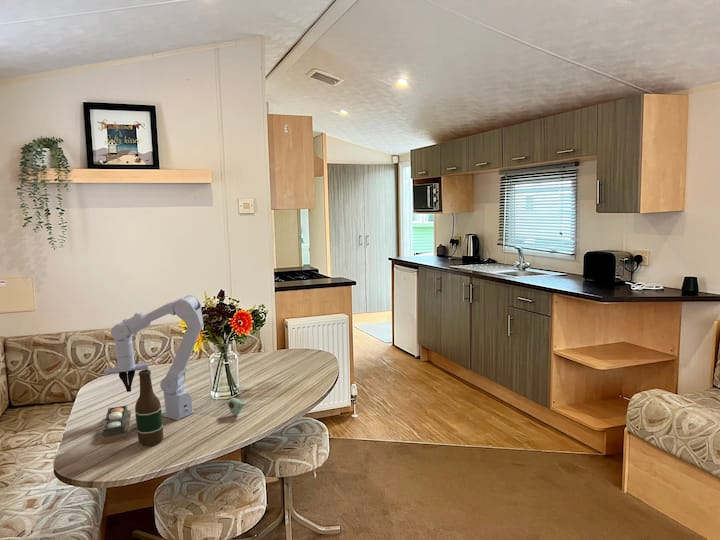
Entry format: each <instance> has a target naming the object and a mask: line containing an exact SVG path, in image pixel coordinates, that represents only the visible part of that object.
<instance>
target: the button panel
mask: <svg viewBox="0 0 720 540" xmlns="http://www.w3.org/2000/svg"><path fill="white" fill-rule="evenodd" d="M115 408H123V409H124V411H123V412H122V419H116V420H110V421H109V414H111V410H112V409H115ZM131 416H132V412H131V410H129V409H128V405H127V404H126V405H121V406H114V407H108V408H107V413H106V415H105V419H104V422H103V423H104V424H103V427H102V428H103V429H102V432H101V436H100V444H104V443H105V444H106V443H111V442H116V441H122V440H128V438H129V437H128V436H129V430H130V425H131V424H130V423H131ZM111 422H121V426H117V427H111V428H107V425H108V424H109V423H111Z"/></svg>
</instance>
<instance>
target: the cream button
mask: <svg viewBox="0 0 720 540" xmlns="http://www.w3.org/2000/svg"><path fill="white" fill-rule="evenodd" d="M116 419H122V412H113V413H111V414H109V421H110V420H116Z"/></svg>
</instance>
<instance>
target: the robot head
mask: <svg viewBox="0 0 720 540" xmlns="http://www.w3.org/2000/svg"><path fill="white" fill-rule="evenodd" d="M226 405H227V407H228V410H229V411H230V413H231V414H232V415H233V416H238V415H240V413H241V410H242V409H243V408H244V407H245V405H246V403H245V402H243V401H242V400H240V399H238V398H237V397H232V398H230V399H229V400H226Z"/></svg>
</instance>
